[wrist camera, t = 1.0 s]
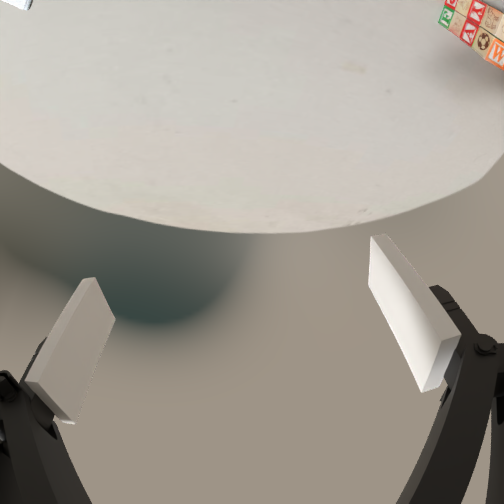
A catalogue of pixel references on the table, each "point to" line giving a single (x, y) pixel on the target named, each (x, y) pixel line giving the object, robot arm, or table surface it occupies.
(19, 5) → the folded white cloth
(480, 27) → the stack of blocks
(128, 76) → the table surface
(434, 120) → the table surface
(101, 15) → the table surface
